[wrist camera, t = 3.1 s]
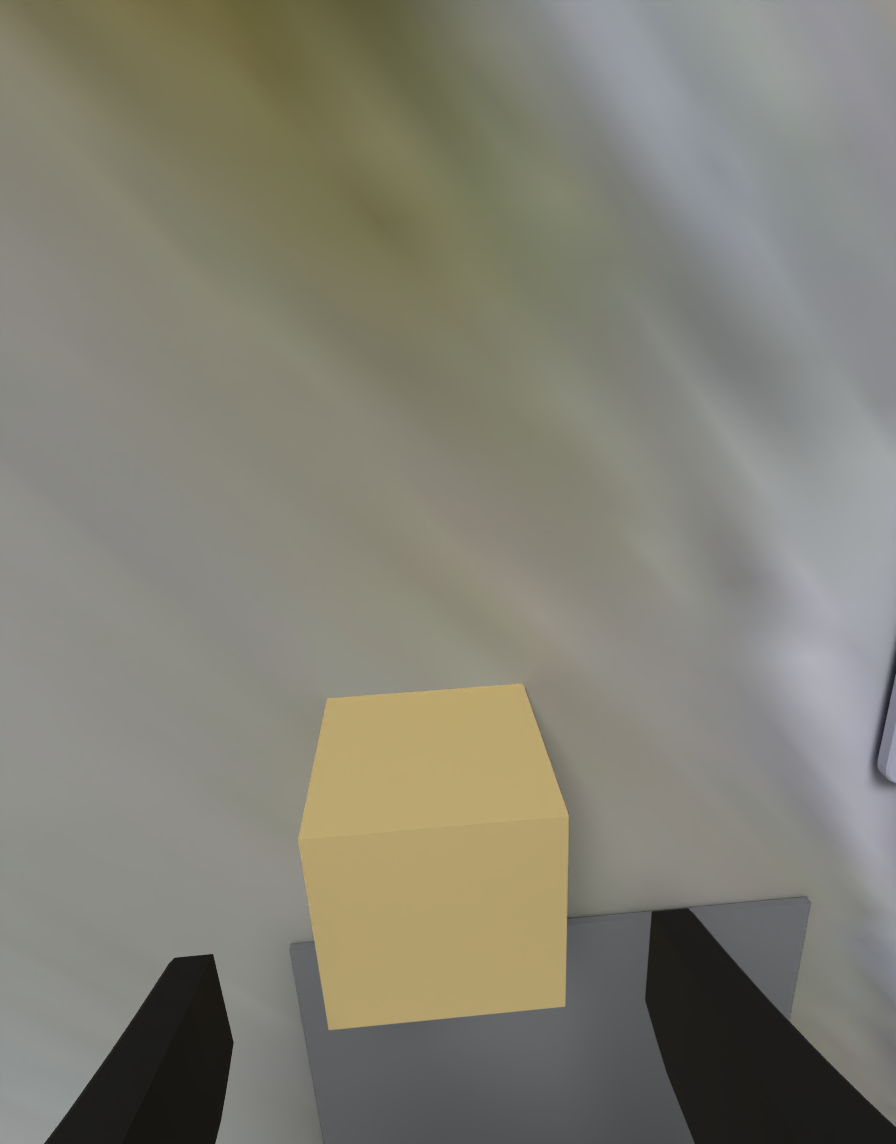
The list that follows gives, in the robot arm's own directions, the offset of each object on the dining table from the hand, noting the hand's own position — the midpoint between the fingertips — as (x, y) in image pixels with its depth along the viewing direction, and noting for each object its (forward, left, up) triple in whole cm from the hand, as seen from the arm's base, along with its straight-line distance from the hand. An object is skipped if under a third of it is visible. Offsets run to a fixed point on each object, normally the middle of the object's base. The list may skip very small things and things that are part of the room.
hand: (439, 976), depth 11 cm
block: (0, 0, -5) cm, 5 cm away
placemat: (-3, +11, -5) cm, 13 cm away
